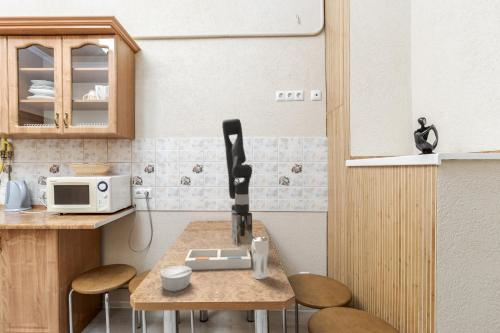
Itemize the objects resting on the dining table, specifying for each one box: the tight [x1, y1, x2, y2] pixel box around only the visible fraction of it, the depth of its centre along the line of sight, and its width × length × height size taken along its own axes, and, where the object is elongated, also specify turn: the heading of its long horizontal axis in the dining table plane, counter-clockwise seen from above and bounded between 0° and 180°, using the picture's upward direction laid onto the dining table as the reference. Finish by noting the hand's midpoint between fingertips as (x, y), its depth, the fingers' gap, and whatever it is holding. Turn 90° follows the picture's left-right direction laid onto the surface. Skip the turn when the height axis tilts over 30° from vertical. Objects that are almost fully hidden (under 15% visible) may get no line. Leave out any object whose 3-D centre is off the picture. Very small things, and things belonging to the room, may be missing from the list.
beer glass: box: [250, 236, 270, 281], centre depth 99 cm, size 7×7×15 cm
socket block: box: [184, 247, 252, 271], centre depth 114 cm, size 14×28×4 cm, turn 95°
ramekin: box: [160, 265, 193, 292], centre depth 91 cm, size 11×11×5 cm
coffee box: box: [231, 211, 253, 247], centre depth 129 cm, size 9×6×16 cm
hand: (241, 233), depth 129 cm, fingers closed on coffee box, 8 cm apart
